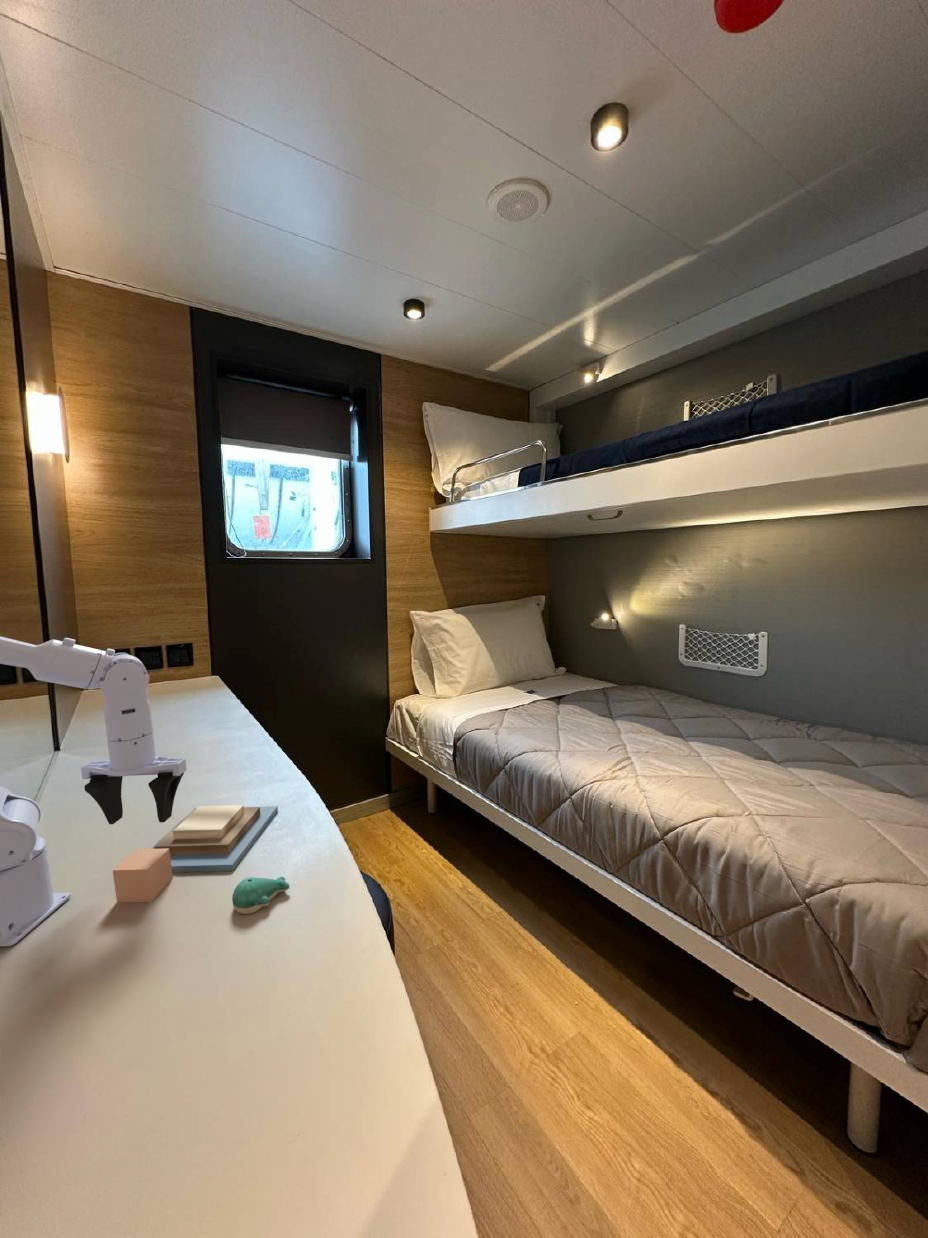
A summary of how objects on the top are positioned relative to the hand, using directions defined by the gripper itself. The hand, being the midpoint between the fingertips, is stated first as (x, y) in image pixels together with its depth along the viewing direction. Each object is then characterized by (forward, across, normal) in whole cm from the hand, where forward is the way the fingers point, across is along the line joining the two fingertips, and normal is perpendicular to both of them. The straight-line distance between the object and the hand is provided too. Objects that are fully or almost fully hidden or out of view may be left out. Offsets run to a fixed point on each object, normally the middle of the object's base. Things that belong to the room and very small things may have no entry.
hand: (140, 820), depth 75 cm
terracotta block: (+9, -2, +4) cm, 10 cm away
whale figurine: (+9, -21, +7) cm, 24 cm away
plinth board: (+9, -6, -9) cm, 14 cm away
